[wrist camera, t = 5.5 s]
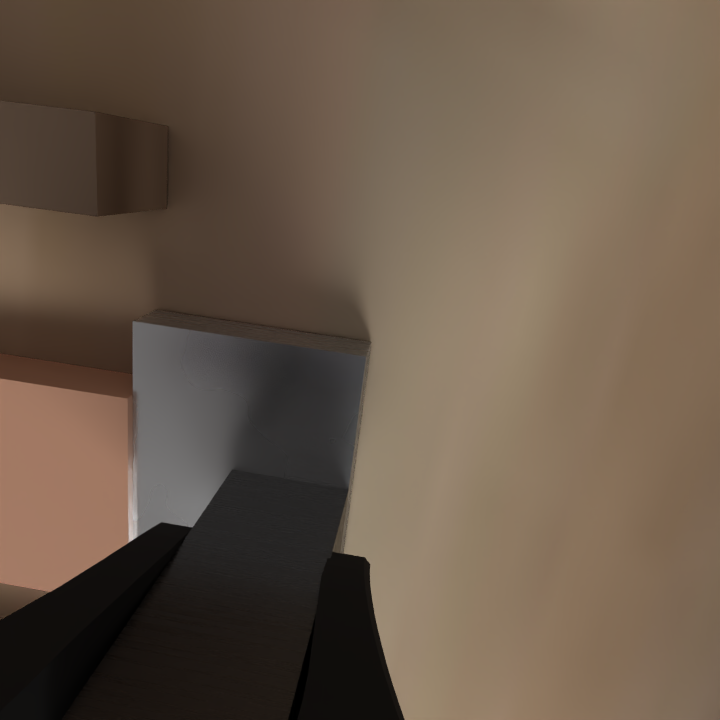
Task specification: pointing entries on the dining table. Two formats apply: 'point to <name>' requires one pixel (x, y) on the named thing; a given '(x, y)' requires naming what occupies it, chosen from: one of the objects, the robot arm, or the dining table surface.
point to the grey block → (232, 515)
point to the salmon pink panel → (62, 469)
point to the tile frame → (81, 161)
